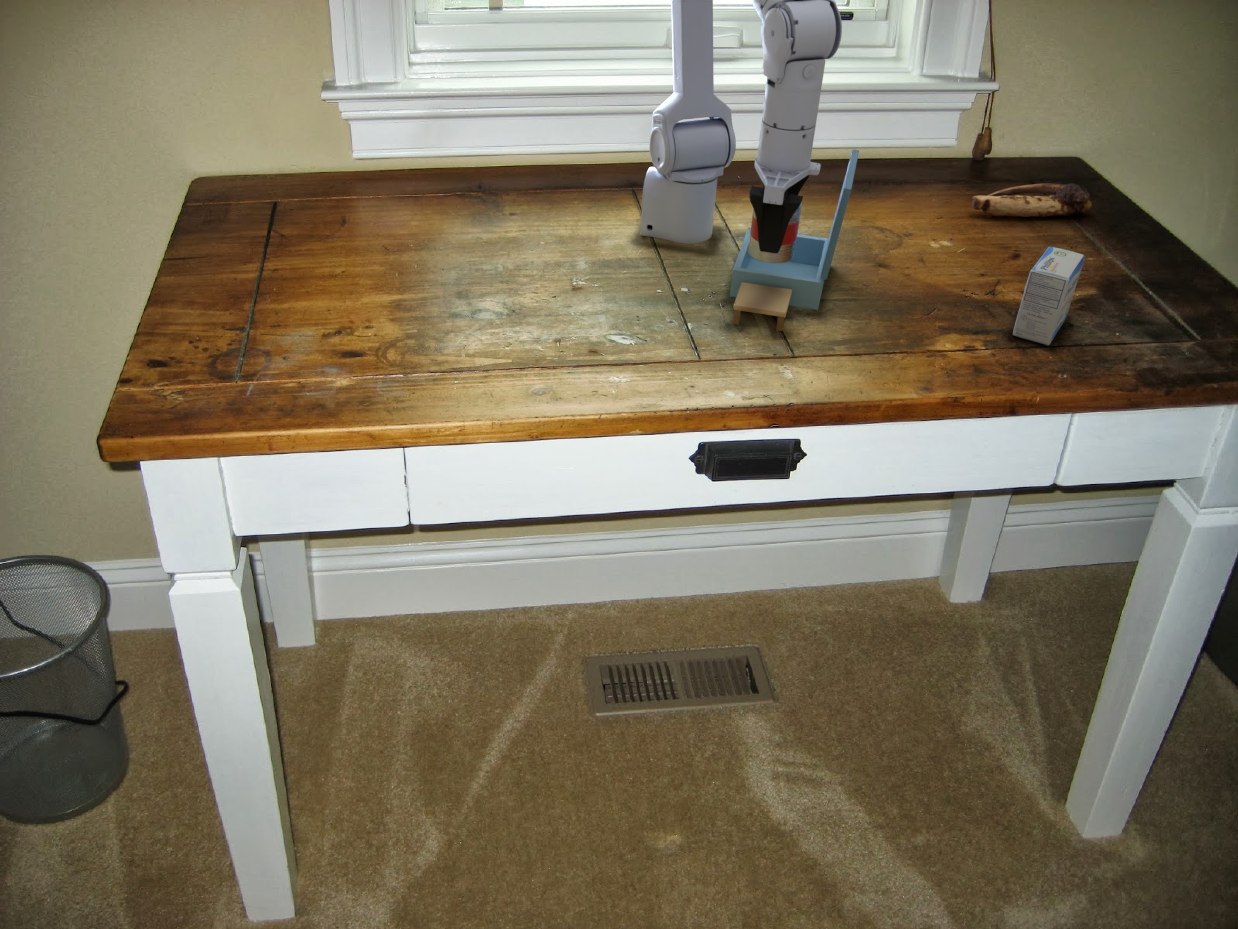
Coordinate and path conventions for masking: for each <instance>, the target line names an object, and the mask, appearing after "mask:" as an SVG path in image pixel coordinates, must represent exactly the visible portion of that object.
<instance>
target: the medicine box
mask: <svg viewBox="0 0 1238 929" xmlns="http://www.w3.org/2000/svg"><path fill="white" fill-rule="evenodd" d="M1085 258H1086V256H1085V255H1084V254H1082V253H1079V252H1075V251H1072V250H1068V249H1065V248H1060V247H1054V246H1048V247H1047V248H1046V250H1045V251H1044V253H1043V254H1042V255H1041V256H1040V258H1039V259H1038V260H1037V262H1036V263H1035V265H1033V267H1032V268H1031V269H1030V271H1029V273H1028V276H1027V280H1026V283H1025V287H1024V290H1023V294H1022V298H1021V301H1020V305H1019V309H1018V313H1017V314H1016V315H1017V316H1016V318H1015V323H1014V327H1013V331H1012V336H1014V337H1017V338H1020V339H1023V340H1027V341H1031V342H1034V343H1038V344H1040V345H1044V346H1047V347H1049V346H1050V345H1051V343H1052V342H1053V341H1054V339H1055V337H1056V336H1057V334H1058V332H1059V331H1060V330H1061V328H1062V326H1063V325H1064V322H1065V320H1066V319H1067V317H1068V314H1069V310H1070V307H1071V305H1072V304H1071V303H1072V302H1073V301H1072V300H1073V297H1074V294H1075V291H1076V288H1077V284H1078V281H1079V278H1080V274H1081V272H1082V269H1083V266H1084V262H1085Z"/></svg>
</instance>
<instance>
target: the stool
mask: <svg viewBox="0 0 1238 929" xmlns="http://www.w3.org/2000/svg"><path fill="white" fill-rule="evenodd" d="M791 295H792V290H791V289H784V288H778V287H771V286H764V285H758V284H751V283H745V282H742V283H741V286H740V289H739V291H738V294H737V297H735V300H734V303H733V308H732V309H733V310H734V311H733V320H732V324H734V325H740V322H741V316H742V314H741V313H742V312H747V313H748V312H749V313H753V314H761V315H767V316H774V317H777V322H776V328H775V329H776V331H778V332H783V330H784V324H785V318H786V316H787V313H788V311H789V307H790V306H789V302H790V298H791Z"/></svg>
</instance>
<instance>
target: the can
mask: <svg viewBox="0 0 1238 929" xmlns="http://www.w3.org/2000/svg"><path fill="white" fill-rule="evenodd" d="M787 194H791V195H794V194H792V193H788V192H787ZM802 205H803V201H802V202H801V204H800V206H799V207H798V209H797V210H796V211H795V213H794V214H793V216H792V218H791V220H790V222H789V224H788V227H787V230H786V233H785V236H784V240H783V243H782V246H781V248H780V250H779V252H778V253H777V254H776V253H769V252H762V251H760V248H759V241H758V228H757V220H756V215H755V212H754V209H752V210H753V211H752V217H751V226H750V228H751V232H750V242H749V250H748V252H749V254H750V256H751V257H753V258H754V259H756V260H759V261H762V262H766V263H784V262H788V261H790V260H791V259H793V257H794V252H795V246H796V239H797V234H799V233H798V232H799V226H800V219H801V211H802Z"/></svg>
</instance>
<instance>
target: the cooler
mask: <svg viewBox="0 0 1238 929" xmlns="http://www.w3.org/2000/svg"><path fill="white" fill-rule="evenodd" d="M750 232H751V226H750V227H749V226H748V227H747V231H746V233H745V236H744V238H743V241H742V244H741V247H740V249H739V252H738V254H737V257H736V259H735V261H734V265H733V268H732V272H731V273H732V274H731V280H730V283H731V284H730V290H729V297H730V298H731V297H732V298H736V297H737V294H738V291H739V289H740V286H741V283H742V282H745V283H751V284H758V285H764V286H771V287H778V288H784V289H791V290H792V295H791V298H790V302H789V306H788V307H794V308H795V307H796V308H803V309H809V310H816V311H818V310H819V307H820V301H821V298H822V292H823V288H824V283H825V280H824V279H820V275H821V271H822V267H823V262H824V258H825V253H826V249H827V244H828V240H829V237H827V238H826V237H819V236H813V235H807V234H806V235H805V234H799V233H798V234H797V239H796V246H795V252H794V257H793V259H791V260H790V261H788V262H784V263H766V262H762V261H759V260H756V259H754V258H753V257H751V256H750V254H749V252H748V250H749V242H750Z"/></svg>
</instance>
